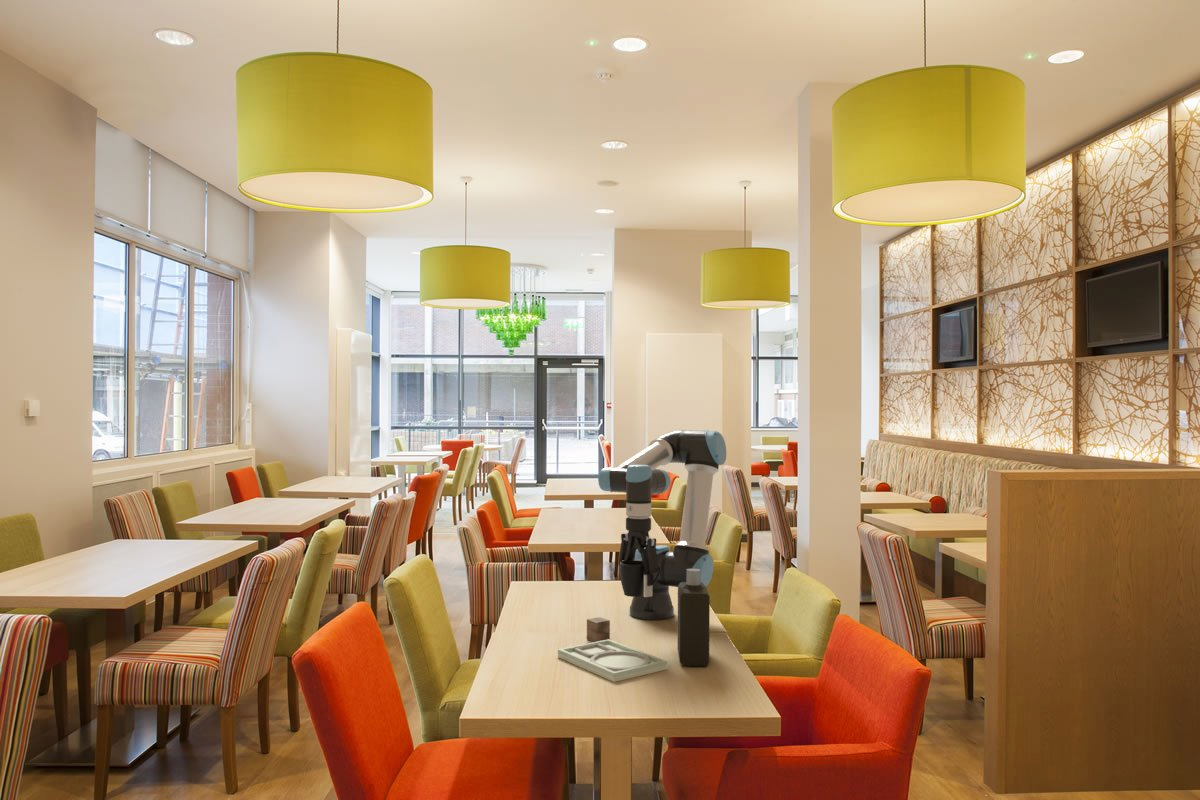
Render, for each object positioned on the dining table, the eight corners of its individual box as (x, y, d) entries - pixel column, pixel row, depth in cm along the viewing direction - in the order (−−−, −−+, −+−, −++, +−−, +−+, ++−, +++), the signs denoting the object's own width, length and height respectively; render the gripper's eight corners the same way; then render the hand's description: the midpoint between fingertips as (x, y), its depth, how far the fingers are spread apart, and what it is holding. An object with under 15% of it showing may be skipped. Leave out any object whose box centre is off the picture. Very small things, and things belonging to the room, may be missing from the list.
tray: (608, 646, 243) (608, 639, 243) (666, 669, 222) (667, 661, 222) (557, 657, 232) (557, 649, 232) (614, 682, 211) (614, 673, 211)
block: (599, 636, 254) (600, 616, 254) (609, 640, 250) (609, 620, 250) (586, 639, 251) (586, 619, 251) (596, 642, 247) (596, 622, 247)
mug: (659, 598, 238) (660, 565, 238) (618, 597, 240) (618, 564, 240) (660, 592, 246) (660, 560, 247) (620, 591, 248) (620, 559, 248)
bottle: (680, 667, 224) (680, 575, 224) (677, 650, 240) (677, 564, 240) (709, 668, 223) (710, 575, 223) (704, 650, 239) (705, 564, 239)
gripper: (606, 514, 250) (606, 588, 250) (652, 522, 233) (651, 602, 233) (626, 512, 255) (625, 585, 254) (672, 520, 238) (671, 598, 237)
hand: (637, 593), depth 244 cm, fingers closed on mug, 9 cm apart
